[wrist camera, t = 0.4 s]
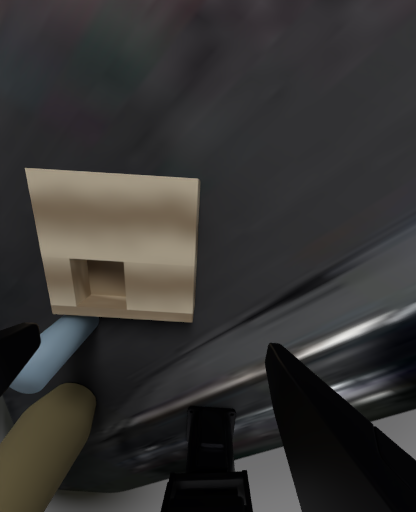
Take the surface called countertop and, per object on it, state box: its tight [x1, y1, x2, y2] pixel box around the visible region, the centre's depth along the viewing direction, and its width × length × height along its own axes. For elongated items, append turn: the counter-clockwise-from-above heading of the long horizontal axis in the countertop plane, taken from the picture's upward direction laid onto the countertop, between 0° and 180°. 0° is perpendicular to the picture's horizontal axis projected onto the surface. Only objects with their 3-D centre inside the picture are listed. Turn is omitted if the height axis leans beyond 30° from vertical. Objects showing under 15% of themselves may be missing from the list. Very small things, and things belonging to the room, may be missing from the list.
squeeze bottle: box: [0, 383, 96, 512], centre depth 19 cm, size 8×8×18 cm
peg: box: [9, 315, 99, 394], centre depth 20 cm, size 4×4×8 cm
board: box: [25, 168, 200, 322], centre depth 19 cm, size 14×14×3 cm
